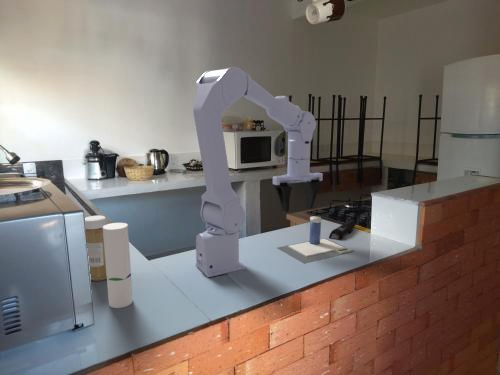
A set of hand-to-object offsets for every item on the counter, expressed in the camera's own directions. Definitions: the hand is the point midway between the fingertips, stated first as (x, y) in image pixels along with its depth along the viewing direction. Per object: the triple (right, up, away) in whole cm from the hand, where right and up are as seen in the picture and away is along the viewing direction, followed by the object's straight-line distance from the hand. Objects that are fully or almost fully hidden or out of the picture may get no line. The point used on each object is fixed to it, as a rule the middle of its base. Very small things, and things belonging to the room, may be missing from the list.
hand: (297, 209), depth 102 cm
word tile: (+11, -11, -4) cm, 16 cm away
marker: (+5, -9, +1) cm, 10 cm away
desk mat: (+4, -11, -3) cm, 12 cm away
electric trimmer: (+15, -8, +11) cm, 20 cm away
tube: (-37, -16, -30) cm, 50 cm away
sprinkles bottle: (-45, -14, -18) cm, 51 cm away
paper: (+5, -10, -2) cm, 11 cm away
